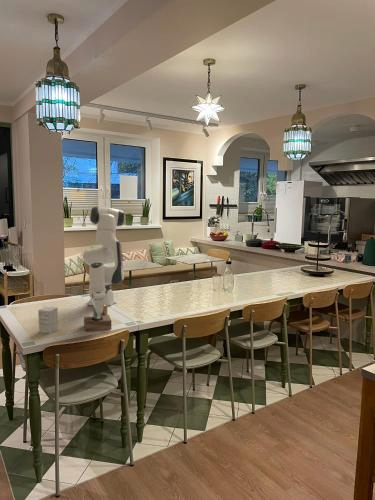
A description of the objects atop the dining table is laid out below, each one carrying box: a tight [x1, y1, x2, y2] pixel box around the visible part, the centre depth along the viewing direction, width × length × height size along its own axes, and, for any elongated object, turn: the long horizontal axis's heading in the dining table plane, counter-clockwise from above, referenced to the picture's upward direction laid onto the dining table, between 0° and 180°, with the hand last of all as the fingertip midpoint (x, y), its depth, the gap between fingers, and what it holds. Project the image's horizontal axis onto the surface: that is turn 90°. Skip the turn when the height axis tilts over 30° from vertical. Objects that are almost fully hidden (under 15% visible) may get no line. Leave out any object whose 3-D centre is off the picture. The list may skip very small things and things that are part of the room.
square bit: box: [92, 307, 102, 321], centre depth 214 cm, size 4×4×10 cm
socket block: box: [83, 314, 112, 332], centre depth 214 cm, size 10×14×5 cm
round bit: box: [101, 304, 108, 316], centre depth 225 cm, size 4×4×10 cm
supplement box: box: [37, 305, 59, 334], centre depth 207 cm, size 7×7×13 cm
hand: (97, 316), depth 214 cm, fingers open, 8 cm apart
